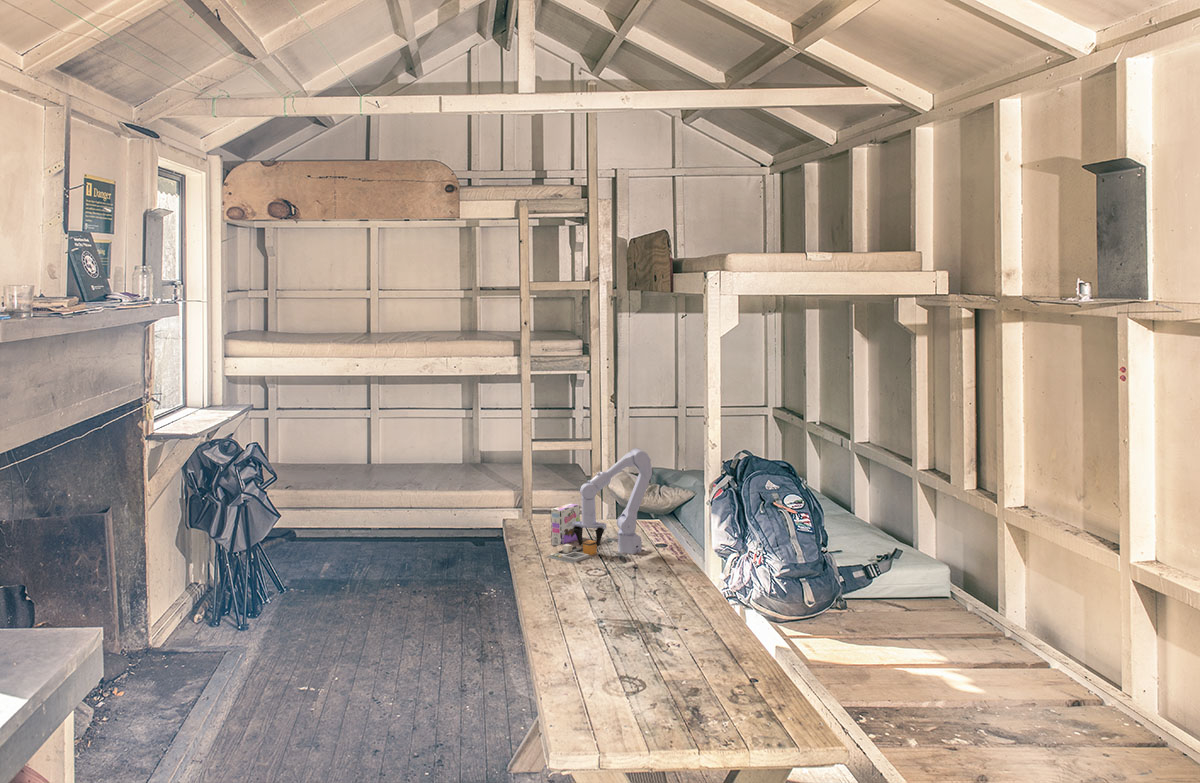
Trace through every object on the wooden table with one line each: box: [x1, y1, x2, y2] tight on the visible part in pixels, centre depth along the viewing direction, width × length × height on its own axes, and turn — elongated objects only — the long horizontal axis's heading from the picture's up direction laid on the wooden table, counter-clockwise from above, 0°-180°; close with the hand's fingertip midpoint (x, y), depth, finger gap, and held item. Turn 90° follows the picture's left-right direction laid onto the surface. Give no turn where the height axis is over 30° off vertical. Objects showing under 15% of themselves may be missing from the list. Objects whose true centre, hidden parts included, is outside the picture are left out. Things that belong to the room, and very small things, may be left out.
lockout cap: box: [582, 539, 598, 555], centre depth 385 cm, size 4×4×5 cm
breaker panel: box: [545, 545, 603, 564], centre depth 384 cm, size 16×18×3 cm
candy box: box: [550, 503, 581, 547], centre depth 408 cm, size 14×6×16 cm, turn 143°
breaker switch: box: [562, 543, 573, 553], centre depth 388 cm, size 3×2×3 cm
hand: (589, 545), depth 385 cm, fingers open, 7 cm apart
